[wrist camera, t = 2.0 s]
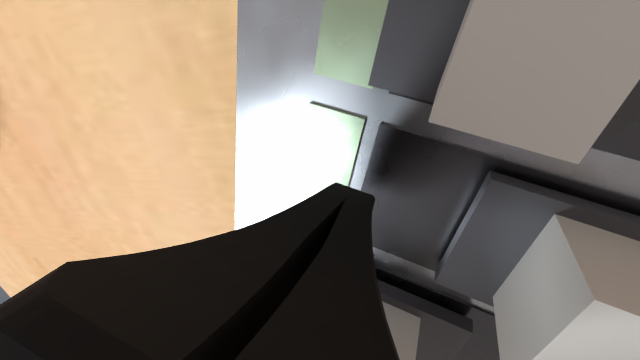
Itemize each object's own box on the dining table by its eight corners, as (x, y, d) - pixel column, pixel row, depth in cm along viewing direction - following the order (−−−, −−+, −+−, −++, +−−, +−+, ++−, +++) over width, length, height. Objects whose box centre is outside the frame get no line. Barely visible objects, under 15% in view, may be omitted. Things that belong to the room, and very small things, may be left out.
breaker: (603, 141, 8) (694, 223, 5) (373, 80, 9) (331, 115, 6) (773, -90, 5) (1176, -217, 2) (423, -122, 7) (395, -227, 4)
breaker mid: (621, 345, 10) (689, 486, 7) (435, 270, 11) (426, 361, 8) (744, 248, 7) (930, 402, 5) (489, 170, 9) (504, 248, 6)
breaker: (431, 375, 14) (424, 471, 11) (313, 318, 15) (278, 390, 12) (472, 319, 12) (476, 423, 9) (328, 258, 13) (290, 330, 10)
